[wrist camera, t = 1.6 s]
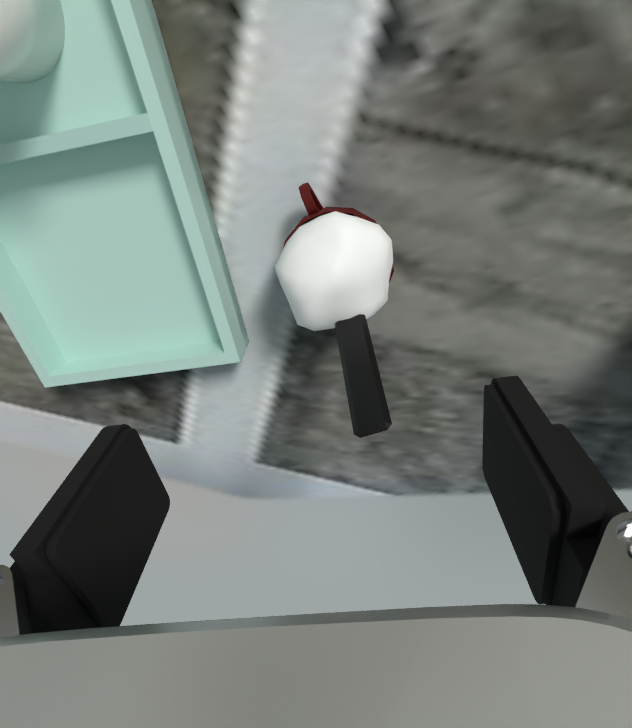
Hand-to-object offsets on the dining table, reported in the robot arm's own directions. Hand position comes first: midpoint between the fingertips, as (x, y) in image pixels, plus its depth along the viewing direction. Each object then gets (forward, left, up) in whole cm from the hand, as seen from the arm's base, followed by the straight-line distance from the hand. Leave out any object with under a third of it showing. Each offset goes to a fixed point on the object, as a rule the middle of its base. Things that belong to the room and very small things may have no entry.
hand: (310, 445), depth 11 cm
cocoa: (0, 0, -18) cm, 18 cm away
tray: (+14, -8, -18) cm, 24 cm away
